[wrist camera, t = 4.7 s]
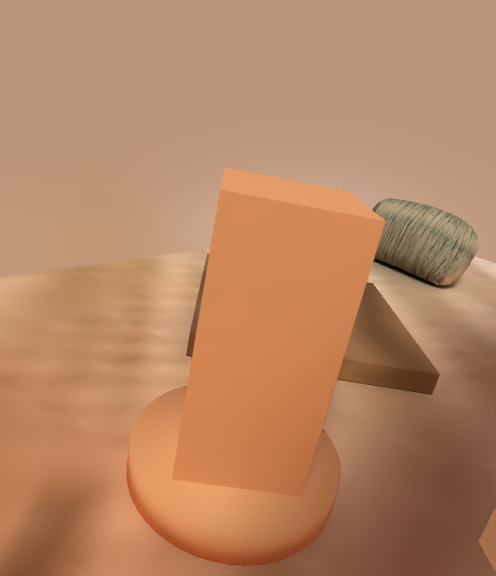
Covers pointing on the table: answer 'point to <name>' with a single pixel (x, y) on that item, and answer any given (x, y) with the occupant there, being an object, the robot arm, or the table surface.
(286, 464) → the tall pillar on disc
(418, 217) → the spool
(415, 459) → the table surface
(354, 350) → the plate
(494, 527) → the robot arm
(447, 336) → the table surface
